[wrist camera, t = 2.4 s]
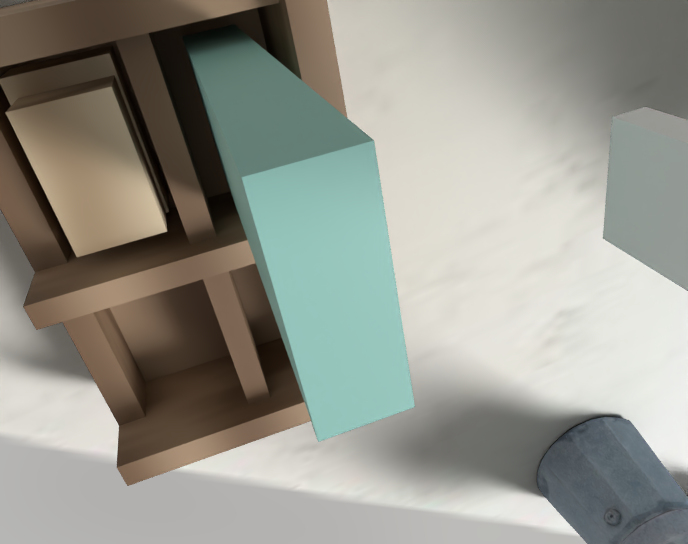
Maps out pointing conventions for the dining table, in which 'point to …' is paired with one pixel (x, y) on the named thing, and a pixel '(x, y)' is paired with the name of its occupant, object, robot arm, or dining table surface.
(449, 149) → the dining table surface
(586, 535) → the moka pot
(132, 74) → the rack
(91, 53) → the block
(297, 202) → the panel
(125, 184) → the offcut top
